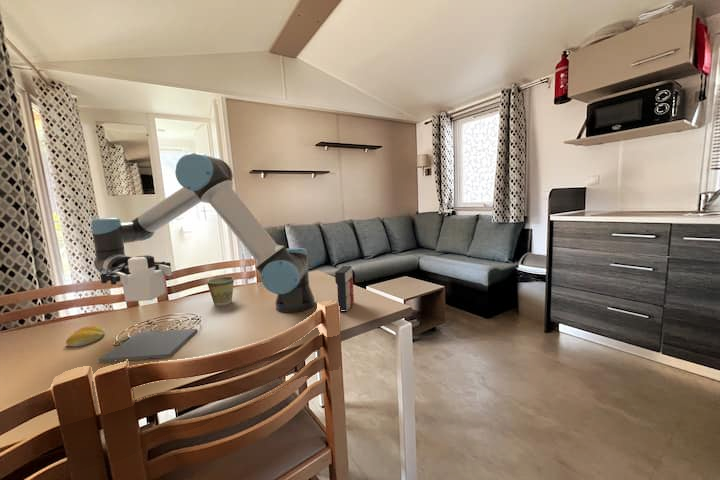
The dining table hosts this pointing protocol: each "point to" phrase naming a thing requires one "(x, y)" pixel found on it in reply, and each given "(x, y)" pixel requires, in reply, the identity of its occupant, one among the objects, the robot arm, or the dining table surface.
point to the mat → (150, 345)
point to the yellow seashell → (85, 336)
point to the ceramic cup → (221, 290)
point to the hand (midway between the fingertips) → (149, 275)
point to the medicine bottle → (143, 280)
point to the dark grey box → (344, 287)
